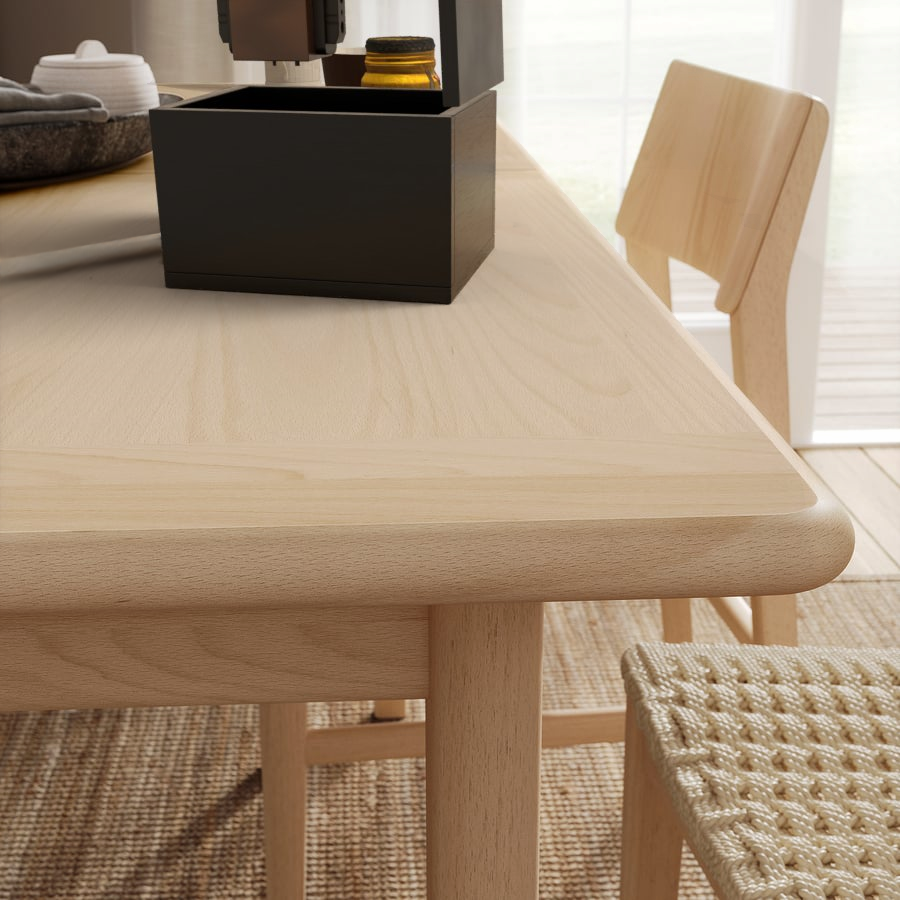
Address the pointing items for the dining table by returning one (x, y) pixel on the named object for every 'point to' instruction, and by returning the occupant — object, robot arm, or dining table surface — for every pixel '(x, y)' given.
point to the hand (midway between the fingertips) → (283, 51)
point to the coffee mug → (345, 67)
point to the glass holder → (293, 73)
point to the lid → (470, 48)
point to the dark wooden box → (325, 191)
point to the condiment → (400, 63)
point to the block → (272, 30)
